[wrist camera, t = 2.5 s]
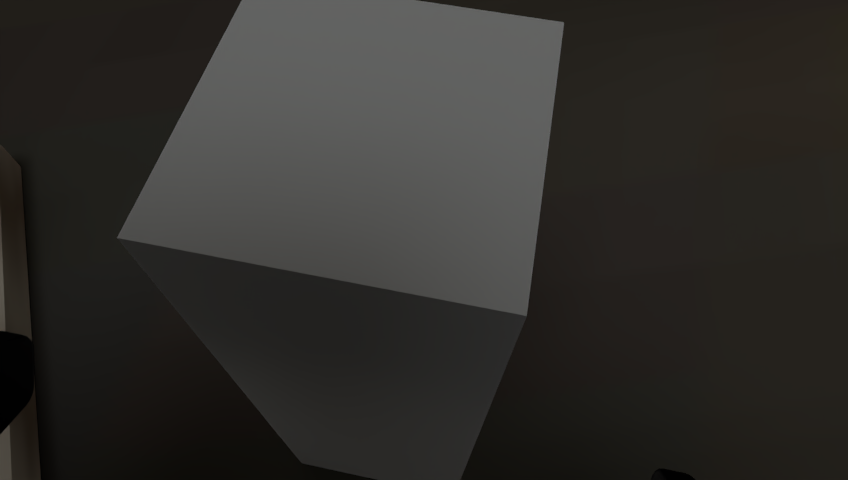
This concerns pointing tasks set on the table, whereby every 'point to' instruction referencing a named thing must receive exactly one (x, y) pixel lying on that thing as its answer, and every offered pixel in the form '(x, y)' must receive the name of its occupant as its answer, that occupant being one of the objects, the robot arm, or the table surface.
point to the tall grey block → (359, 220)
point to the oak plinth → (16, 320)
